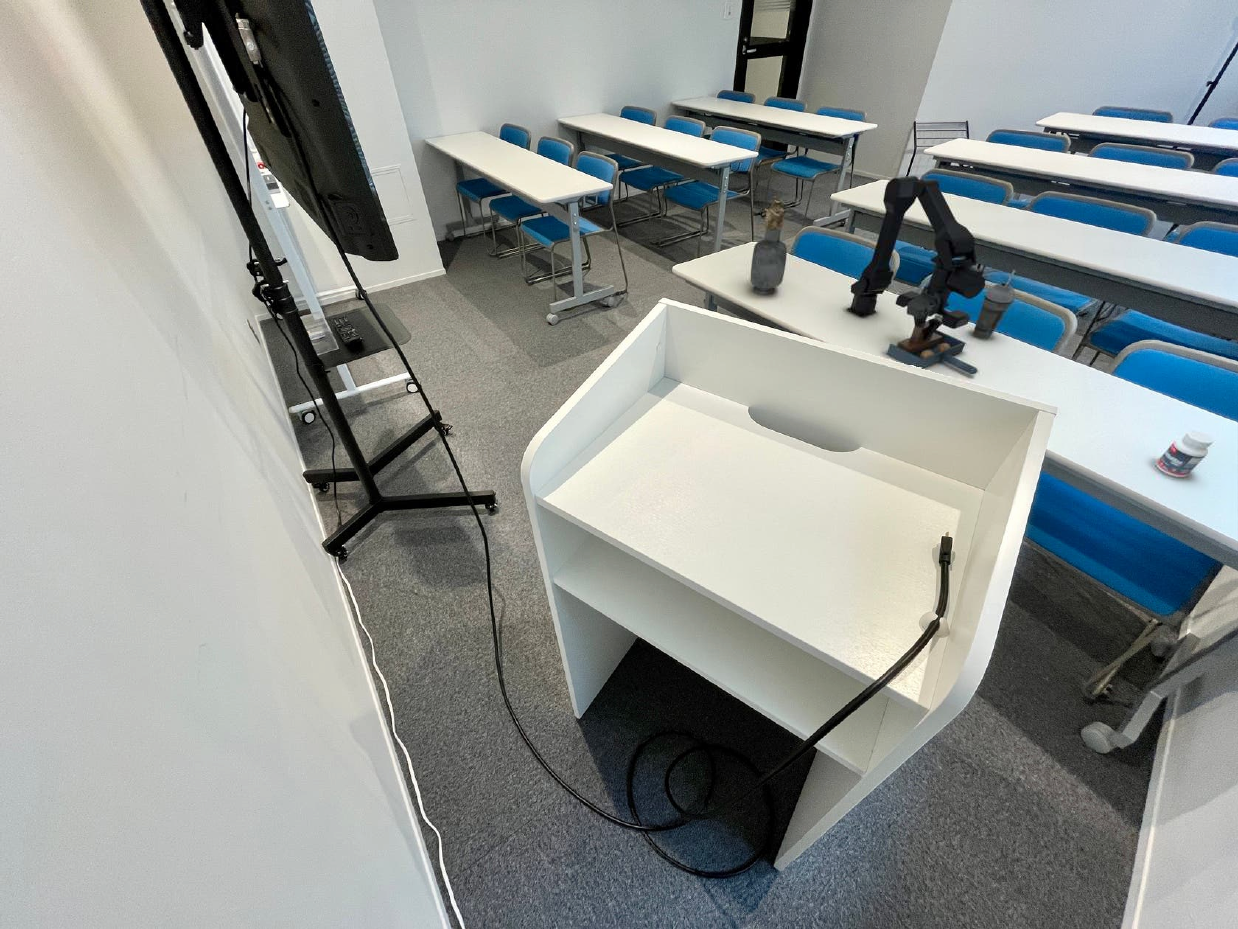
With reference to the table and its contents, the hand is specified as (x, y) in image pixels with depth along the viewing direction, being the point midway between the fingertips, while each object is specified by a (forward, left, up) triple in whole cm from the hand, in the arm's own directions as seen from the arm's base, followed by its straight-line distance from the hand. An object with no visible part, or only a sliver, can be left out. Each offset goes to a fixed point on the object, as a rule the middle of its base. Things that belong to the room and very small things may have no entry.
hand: (920, 337), depth 149 cm
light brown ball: (+6, -3, -2) cm, 7 cm away
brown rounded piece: (+5, +4, -2) cm, 7 cm away
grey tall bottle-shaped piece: (-57, -8, -4) cm, 57 cm away
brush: (0, 0, -3) cm, 3 cm away
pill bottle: (+61, +2, -4) cm, 61 cm away
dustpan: (+8, 0, -4) cm, 9 cm away
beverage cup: (+4, +23, -4) cm, 24 cm away
